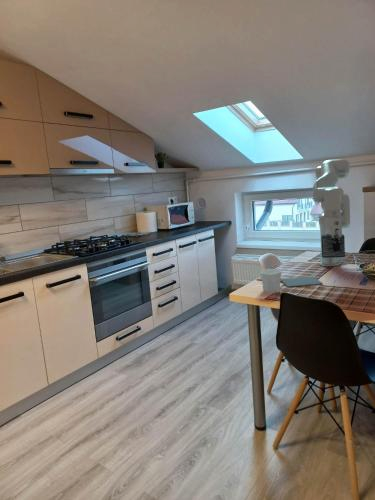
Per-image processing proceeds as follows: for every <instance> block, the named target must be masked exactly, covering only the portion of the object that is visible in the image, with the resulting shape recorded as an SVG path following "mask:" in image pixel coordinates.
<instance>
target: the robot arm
mask: <svg viewBox="0 0 375 500" xmlns="http://www.w3.org/2000/svg"><path fill="white" fill-rule="evenodd" d="M349 173H350V163H349V160H348V159H345V158H338V159H328V160H324V161H323V162H322V163H321V165H320V166H317V167H316V169H315V178H316V181H315V182H314V184H313V186H312V198H313V201H314V202H315V203H318V204H320V208H321V209H322V211H323V213H322V214H320V215H319V216H318V225H319V230H320V236H321V235H327V236H330V237H331V238H333V242H334V243H333V251H340V240H341V237H342V234H343V229H348V228H349V227H350V225H351V202H350V201H351V200H350V197H349V194H347V193H344V189H342V187H340V186H336V184H337V183H338V181H339V180H345V179H346V178H347V177H348V175H349ZM334 236H337V237H334ZM335 239H336V240H335ZM320 259H321V260H320V261H318V265H319V266H321V267H337V266H340V265H341V261H346V259H347V257H346V256H345V257H332V258H322V248H321V247H320Z"/></svg>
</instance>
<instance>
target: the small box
mask: <svg viewBox="0 0 375 500" xmlns="http://www.w3.org/2000/svg"><path fill="white" fill-rule="evenodd" d="M334 237H337V236H334ZM335 240H336V239H335ZM333 243H334V242H333V238H331V237H330V236H327V235H321V234H320V249H321V248H322V258H332V257H346V251H345V250H346V249H345V247H346V246H345V245H346V244H345V235H344V234H343V233H342V237H341V240H340V251H333Z"/></svg>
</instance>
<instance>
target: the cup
mask: <svg viewBox="0 0 375 500" xmlns="http://www.w3.org/2000/svg"><path fill="white" fill-rule="evenodd" d="M281 275H282V270H280V269H275V268H272V269H271V268H270V269H269V268H268V269H263V270H261V271H260V279H261V282H262V283H261V284H262V291H263V293H267V294H275V293H279V292H280V290H281V280H280V279H282V276H281Z"/></svg>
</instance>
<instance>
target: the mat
mask: <svg viewBox="0 0 375 500" xmlns="http://www.w3.org/2000/svg"><path fill="white" fill-rule="evenodd" d="M280 282H282V284H284V286H285V287H287V288H295V287H297V288H298V287H306V286H308V287H309V286H317V285H319V286H320V285H324V284H323V281H320V280H319V279H318V278H316V277H315V276H313V275H311V276H300V277H291V278H289V277H288V278H281V279H280Z"/></svg>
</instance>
